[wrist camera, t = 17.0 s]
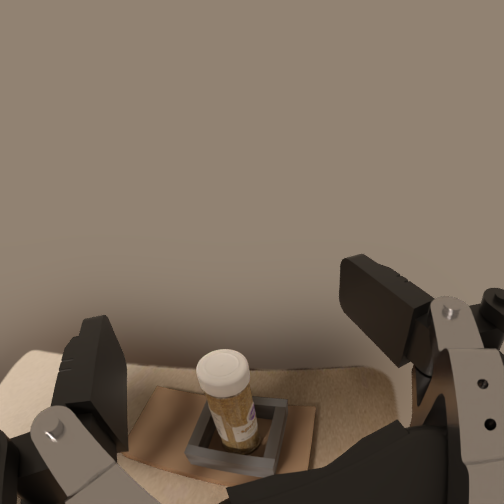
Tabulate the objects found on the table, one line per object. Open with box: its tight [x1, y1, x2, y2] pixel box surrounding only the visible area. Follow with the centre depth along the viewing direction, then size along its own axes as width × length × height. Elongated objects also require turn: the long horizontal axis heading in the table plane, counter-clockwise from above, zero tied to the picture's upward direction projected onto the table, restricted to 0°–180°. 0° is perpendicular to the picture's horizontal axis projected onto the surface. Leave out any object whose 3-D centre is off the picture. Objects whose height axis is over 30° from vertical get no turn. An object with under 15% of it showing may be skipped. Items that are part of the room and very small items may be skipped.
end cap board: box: [121, 386, 316, 487], centre depth 31 cm, size 22×12×4 cm, turn 77°
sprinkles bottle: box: [196, 349, 260, 455], centre depth 28 cm, size 5×5×13 cm
